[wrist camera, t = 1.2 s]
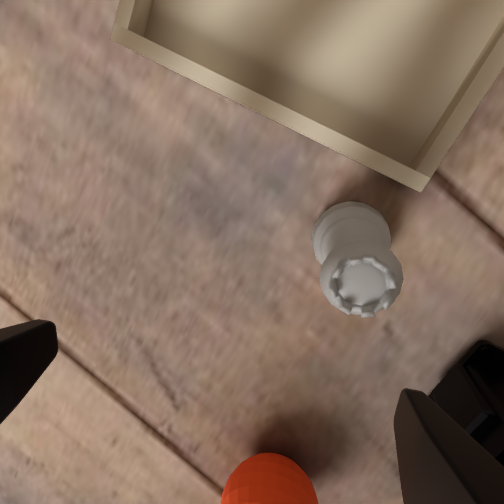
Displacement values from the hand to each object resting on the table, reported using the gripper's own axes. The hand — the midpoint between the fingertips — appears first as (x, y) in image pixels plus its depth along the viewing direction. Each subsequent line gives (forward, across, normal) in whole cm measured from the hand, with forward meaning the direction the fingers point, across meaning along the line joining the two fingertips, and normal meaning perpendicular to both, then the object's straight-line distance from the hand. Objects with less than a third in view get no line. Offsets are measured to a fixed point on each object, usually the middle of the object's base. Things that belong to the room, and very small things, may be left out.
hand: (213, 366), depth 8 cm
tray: (+14, 0, -11) cm, 18 cm away
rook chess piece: (+14, -4, 0) cm, 14 cm away
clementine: (+14, -2, +19) cm, 24 cm away
